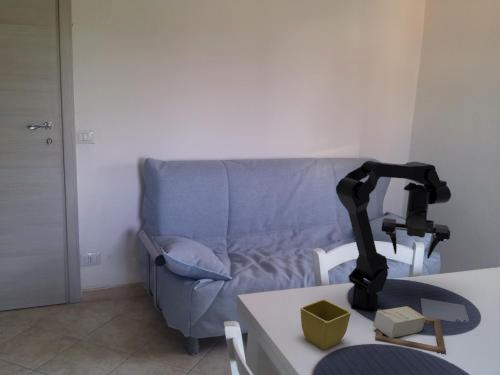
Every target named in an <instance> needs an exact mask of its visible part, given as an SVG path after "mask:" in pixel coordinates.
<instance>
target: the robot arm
mask: <svg viewBox="0 0 500 375" xmlns="http://www.w3.org/2000/svg"><path fill="white" fill-rule="evenodd" d="M367 177H368V178H367ZM365 178H367V179H366V180H365V181H361V180H364V179H365ZM381 178H391V179H392V178H393V179H405V180H408V181H411V182H409V183H408V184H407V185H405V186H404V187H403V190H404V191H407V192H408V196H407V202H406V203H407V204H406V213H405V223H399V222H397V219H396V218H395V219H394V218H387V217H384V218H383V219H381V220H382V221H381V229H380V230H381V232H384V233H385V235H387V236H389V238H390V241H391V243H392V249H393V253H394V255H396V254H397V247H398V246H397V230H400V231H406V235H407V236H409V237H419V238H422V239H423V238H425V236H426V234H431V236H430V241H429V245H428V250H427V254H426V255H427V257H426V259H428V260H429V259H430V257H431V255H432V253H433V251H434V250H435V248H436V247H437V245H438V244H439V243H441V242H445V240H450V239H451V230H450V228H449V226H448V225H446V224H436V223H435V221H434V220H432V219H431V220H430V219H428V218H427V217H428V210H429V205H435V204H436V205H437V204H445V203H448V202H449V201H450V200H451V197H452V193H451V190H450V187H449V186H448V184H447V183H448V182H447V181H446V180H442V179H441V180H440V177H439V174H438V172H437V169H436V166H435V165H434V164H430V163H425V162H421V161H420V162H419V161H410V162H405V163H403V164H401V163H400V164H399V163H391V162H379V161H373V160H366V161H364V163H362V165H361V166H359V167H356V169H353V170H352V171H350V172H348V173H347V174H346V175H345V176H344V177H343V178H341V179H339V181H338V183H337V185H336V186H335V192H336V195H337V197H338V199H339V201H340V203H341V204H342V205H343V207H344V208H345V210H346V211H347V212H348V218H349V221H350V225H351V229H352V232H353V233H352V234H353V236H354V240H355V244H356V248H357V251H358V256H357V258H356V262H355V263H356V264H355V265H356V266H355V268H354V269H353V270H352V271H351V272H350V274H349V275H348V281H349V282H350V284H351V283H352V284H353V292H352V302H351V307H350V309H352V310H355V311H362V312H368V313H376V310H377V309H378V301H379V292H380V293H381V292H382V291H383V288H384V286H385V284H386V281H387V279H388V275H389V269H390V267H389V266H388V259H387V257H386V256H385V255H383V254H382V253H378V251H377V248H376V243H375V240H374V238H375V237H374V235H373V231H372V225H371V223H370V217H369V214H368V209H367V208H368V206H369V203H370V199H371V197H370V194H372V192H373V191H374V190H376V189H377V184H378V181H379V180H380V179H381Z"/></svg>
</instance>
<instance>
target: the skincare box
mask: <svg viewBox="0 0 500 375" xmlns="http://www.w3.org/2000/svg"><path fill="white" fill-rule="evenodd" d="M424 322H425V317H424V316H423V315H422V313H420V312H418V311H416V310H415V309H413V308H411V307H410V306H406V305H405V306H401V307H393V308H388V309H382V310H380V311H378V310H377V311H375V316H374V319H373V323H372V326H373V327H374V328H375V329H376V328H377V329H378V330H380V331H381V332H382V334H384V335H386V337H390V338H398V337H402V336H403V337H404V336H408V335H412V334H418V333H420V332H422V331H423V328H424V325H425V324H424Z"/></svg>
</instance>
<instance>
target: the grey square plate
mask: <svg viewBox="0 0 500 375" xmlns="http://www.w3.org/2000/svg"><path fill="white" fill-rule="evenodd" d="M420 306H421V315H422V316H424V317H428V318H434V319H439V320H444V321H443V322H445V321H451V322H455V321H456V320H457V319H458V321H459V320H460V321H461V322H463V321H464V320H466V322H468V321H470V318H469V316H468V312H467V309H466V306H465V304H460V303H453V302H446V301H442V300H436V299H435V300H433V299H428V298H423V297H421V298H420ZM451 322H450V323H451Z"/></svg>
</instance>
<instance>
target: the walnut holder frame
mask: <svg viewBox="0 0 500 375" xmlns="http://www.w3.org/2000/svg"><path fill="white" fill-rule="evenodd" d="M380 310H383V309H381V308H377V311H380ZM424 323H426V324H425V325H429V324H433V325H432V326H433V329H435V330H434V335H435V336H434V337H435V341H436V345H432V344H427V343H421V342H417V341H411V340H405V339H402V338H401V339H400V338H397V337H394V338H390V337H389V336H387V335H386V336H385V335H383V332H381V331H380V330H378V329H377V328H375V336H374V338H375V339H374V340H375V341H377V342H381V343H385V344H391V345H396V346H402V347H408V348H413V349H417V350H423V351H428V352H434V353H436V354H439V353H441V354H440V355H444V354H445V355H446V352H447V350H446V345H445V344H446V343H445V339H444V334H443V330H442V326H441V325H442V324H441V321H440V320H439V319H434V318H428V317H425V322H424Z"/></svg>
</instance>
